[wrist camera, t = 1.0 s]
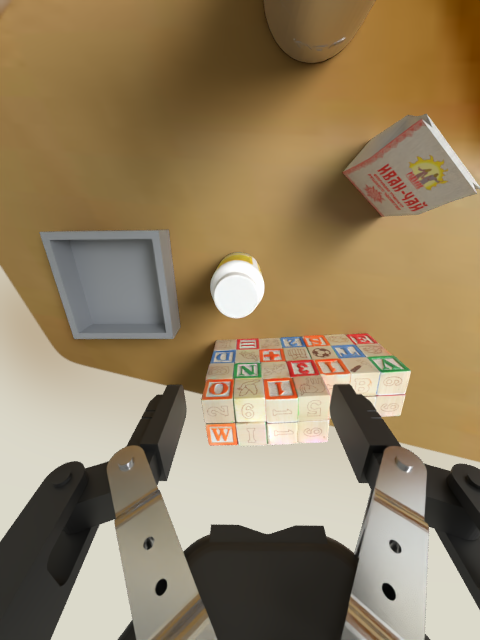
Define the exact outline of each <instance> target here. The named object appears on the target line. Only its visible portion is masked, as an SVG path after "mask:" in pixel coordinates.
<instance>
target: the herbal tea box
mask: <svg viewBox="0 0 480 640" xmlns="http://www.w3.org/2000/svg"><path fill="white" fill-rule="evenodd" d="M342 173H343V174H344V175H345V176H346V177H347V178H348V179H349V180H350V181H351V183H352V184H353V185H354V186H355V187H356V188H357V189H358V190H359V191H360V193H361V194H362V195H363V196H364V197H365V198H366V199H367V200H368V201H369V203H370V204H371V205H372V206H373V207H374V208H375V209H376V210H377V211H378V213H379V214H380V215H381V216H402V215H419V214H421V213H424V212H426V211H429V210H431V209H434V208H436V207H439V206H442V205H444V204H447V203H449V202H452V201H455V200H458V199H461V198H464V197H467V196H471V195H474V194H477V192H476V190H475V189H480V186H479V185H478V184H477V182H476V181H475V180H474V178H473V177H472V175H471V174H470V173H469V171H468V170H467V169H466V167H465V166H464V164H463V163H462V162H461V160H460V159H459V158H458V156H457V155H456V153H455V152H454V151H453V149H452V148H451V147H450V145H449V144H448V142H447V141H446V140H445V138H444V137H443V136H442V134H441V133H440V131H439V130H438V129H437V127H436V126H435V125H434V123H433V122H432V120H431V119H430V118H429V116H428V115H427V114H424V115H422V116H412V115H407V116H405V117H404V118H402V119H401V120H399V121H398V122H396V123H395V124H393V125H392V126H390V127H389V128H387V129H386V130H384V131H383V132H381V133H380V134H378V135H377V136H375V137H374V138H372V139H371V140H370V141H369V142H368V143H367V144H366V146H365V147H364V148H363V149H362V150H361V151H360V153H359V154H358V155H357V156H356V157H355V158H354V160H353V161H352V162H351V163H350V164H349V165H348V167H347V168H346V169H345V170H344V171H343V172H342Z"/></svg>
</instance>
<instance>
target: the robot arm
mask: <svg viewBox="0 0 480 640" xmlns="http://www.w3.org/2000/svg"><path fill="white" fill-rule="evenodd" d="M375 1H376V0H264V8H265V15H266V19H267V22H268V26H269V29H270V31H271V33H272V35H273V37H274V39H275V41H276V42H277V44H278V45H279V46H280V47H281V49H282V50H283V51H284V52H285V53H287V54H288V55H289V56H290V57H292V58H294V59H296V60H299V61H301V62H307V63H315V62H321V61H324V60H327V59H329V58H331V57H333V56H335V55H336V54H337V53H339V52H340V51H341V50H343V49H344V48H345V47H346V45H347V44H348V43H349V42H350V41H351V40H352V39H353V37H354V36H355V34H356V33H357V31H358V29H359V28H360V26H361V25H362V23H363V21H364V20H365V18H366V16H367V15H368V13H369V11H370V9H371V8H372V6H373V4H374V3H375ZM330 416H331V419H332V421H333V424H334V426H335V428H336V431H337V433H338V435H339V438H340V440H341V442H342V445H343V447H344V449H345V452H346V454H347V456H348V459H349V461H350V463H351V466H352V468H353V471H354V473H355V475H356V478H357V480H358V482H359V483H369V486H370V488H371V493H370V496H369V500H368V504H367V508H366V511H365V515H364V520H363V523H362V527H361V531H360V535H359V538H358V542H357V545H356V549H355V552H354V553H353V552H352V551H351V550H349V549H348V548H347V547H345V546H344V545H342V544H341V543H339V542H338V541H336V540H333V539H331V538H329V537H326V534H325V530H324V527H323V526H293V527H290V528H287V529H284V530H281V531H278V532H275V533H272V534H264V533H261V532H258V531H255V530H252V529H249V528H246V527H243V526H240V525H211V532H210V535H207V536H205V537H203V538H201V539H199V540H197V541H196V542H194V543H193V544H191V545H190V546H189V547H188V548H187V549H186V550H185V551H184V552H183V550H182V548H181V545H180V543H179V540H178V537H177V535H176V532H175V529H174V527H173V524H172V521H171V519H170V516H169V514H168V511H167V508H166V506H165V503H164V500H163V498H162V495H161V493H160V491H159V490H158V488H157V485H158V482H159V481H167V478H168V475H169V471H170V468H171V465H172V461H173V458H174V455H175V451H176V448H177V445H178V441H179V438H180V435H181V431H182V428H183V425H184V421H185V418H186V401H185V395H184V389H183V385H167V387H166V389H165V391H164V393H163V395H156V396H155V397H154V398H153V399H152V400H151V401H150V402H149V404H148V406H147V408H146V410H145V412H144V414H143V416H142V419H141V420H140V422H139V423H138V425H137V427H136V429H135V431H134V433H133V435H132V437H131V439H130V441H129V443H128V445H127V446H126V447H125V448H122V449H121V450H119V451H118V452H116V453H115V454H114V455H113V456H112V458H111V459H110V460H109V461H108V462H106V463H103V464H99V465H96V466H92V467H89V468H84V466H83V464H82V463H80V462H77V461H74V462H69V463H66V464H63V465H61V466H60V467H58V468H56V469H55V470H54V471H52V472H51V473H50V474H49V475H48V476H47V477H46V478H45V480H44V481H43V482H42V484H41V485H40V487H39V488H38V489H37V491H36V492H35V494H34V495H33V497H32V498H31V499H30V501H29V502H28V504H27V505H26V506H25V508H24V509H23V511H22V512H21V513H20V515H19V517H18V518H17V519H16V521H15V522H14V524H13V525H12V526H11V528H10V529H9V530H8V532H7V533H6V535H5V536H4V538H3V539H2V540H1V542H0V640H50V639H51V637H52V634H53V632H54V630H55V628H56V625H57V623H58V621H59V618H60V616H61V614H62V611H63V609H64V606H65V604H66V602H67V599H68V597H69V595H70V592H71V590H72V588H73V585H74V583H75V580H76V578H77V576H78V573H79V571H80V569H81V567H82V564H83V562H84V560H85V557H86V555H87V553H88V550H89V548H90V545H91V543H92V541H93V538H94V536H95V534H96V531H97V529H98V527H99V524H102V523H105V522H108V521H110V520H113V519H115V529H116V534H117V539H118V544H119V550H120V555H121V560H122V566H123V571H124V576H125V581H126V587H127V592H128V598H129V603H130V608H131V614H132V619H133V620H132V621H131V622H130V624H129V625H128V626H127V628H126V629H125V631H124V632H123V633H122V635H121V636H120V637H119V639H118V640H430V639H429V638H428V636H426V634H425V613H426V590H427V587H426V586H427V565H428V564H427V563H428V541H429V527H432V528H435V530H436V532H437V534H438V536H439V538H440V539H441V541H442V543H443V545H444V547H445V548H446V550H447V552H448V554H449V556H450V557H451V559H452V561H453V563H454V564H455V566H456V568H457V570H458V571H459V573H460V575H461V577H462V579H463V580H464V582H465V584H466V586H467V588H468V590H469V591H470V593H471V595H472V596H473V599H474V600H475V602H476V604H477V606H478V608H479V609H480V469H478V468H476V467H473V466H471V465H467V464H456V465H454V466H453V467H452V469H451V471H448V470H444V469H441V468H437V467H434V466H430V465H427V464H424V463H423V462H422V461H421V459H420V458H419V457H418V456H417V455H415V454H414V453H413V452H411V451H409V450H407V449H405V448H403V447H401V445H400V444H399V442H398V441H397V439H396V438H395V437H394V435H393V434H392V432H391V431H390V429H389V428H388V426H387V425H386V423H385V422H384V420H383V419H381V416H380V414H379V413H378V412H377V411H376V409H375V407H374V406H373V404H372V403H371V401H369V400H368V399H367V398H366V397H364V396H363V395H362V394H356V392H355V391H354V389H353V388H352V386H351V385H350V384H334V385H333V390H332V395H331V401H330Z"/></svg>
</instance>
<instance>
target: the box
mask: <svg viewBox="0 0 480 640" xmlns="http://www.w3.org/2000/svg"><path fill="white" fill-rule="evenodd" d="M40 235H41V239H42V242H43V245H44V248H45V251H46V254H47V257H48V260H49V263H50V266H51V269H52V272H53V275H54V278H55V281H56V285H57V288H58V291H59V294H60V297H61V300H62V303H63V306H64V309H65V312H66V315H67V318H68V321H69V324H70V328H71V331H72V334H73V337H74V339H174V337H175V335H176V334H177V332H178V331H179V329H180V327H181V326H180V318H179V310H178V301H177V293H176V285H175V277H174V269H173V261H172V253H171V244H170V236H169V230H106V231H53V232H40Z"/></svg>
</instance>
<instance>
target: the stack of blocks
mask: <svg viewBox="0 0 480 640" xmlns="http://www.w3.org/2000/svg"><path fill="white" fill-rule="evenodd" d="M410 373H411V371H410V369H408V368H407V367H406V366H405V365H404V364H403V363H402V362H401V361H399V360H398V359H397V358H396V357H395V356H392V355H391V354H390V353H389V352H388V351H387V350H386V349H385V348H384V347H383V346H381V345H380V344H378V343H377V342H376V341H375V340H374V339H373V338H372V337H371V336H370V335H369V334H351V335H345V334H339V335H324V336H323V335H317V336H302V337H285V338H267V339H237V340H236V339H233V340H216V343H215V347H214V352H213V355H212V359H211V362H210V365H209V368H208V371H207V375H206V379H205V382H206V384H205V388H204V391H203V395H202V399H201V402H202V408H203V414H204V421H205V423H206V431H207V436H208V442H209V445H210V446H214V445H237V444H238V445H239V446H262V445H267V444H270V445H277V444H295V443H297V442H298V443H313V442H327V441H328V429H329V418H331V416H330V401H331V395H332V390H333V385H334V384H350V385H351V386H352V388H353V389H354V391H355V392H356V394H362V395H363V396H364V397H366V398H367V399H368V400H369V401H371V403H372V404H373V406H374V407H375V409H376V411H377V412H378V413H379V414H380V416H400V414H401V411H402V407H403V403H404V399H405V392H406V389H407V385H408V381H409V377H410Z"/></svg>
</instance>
